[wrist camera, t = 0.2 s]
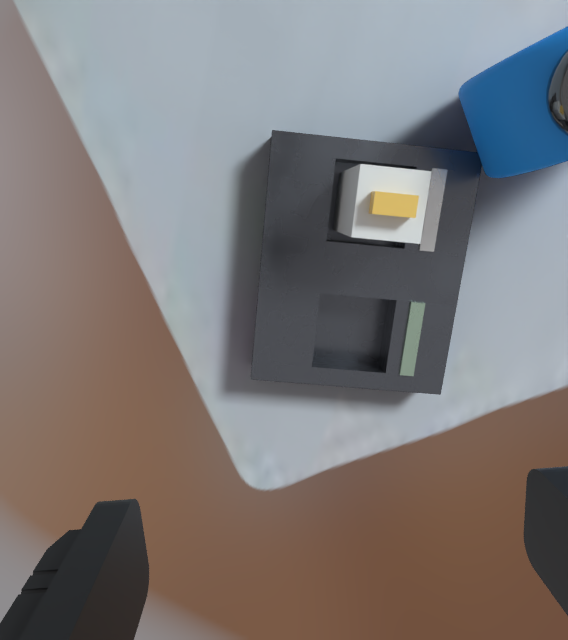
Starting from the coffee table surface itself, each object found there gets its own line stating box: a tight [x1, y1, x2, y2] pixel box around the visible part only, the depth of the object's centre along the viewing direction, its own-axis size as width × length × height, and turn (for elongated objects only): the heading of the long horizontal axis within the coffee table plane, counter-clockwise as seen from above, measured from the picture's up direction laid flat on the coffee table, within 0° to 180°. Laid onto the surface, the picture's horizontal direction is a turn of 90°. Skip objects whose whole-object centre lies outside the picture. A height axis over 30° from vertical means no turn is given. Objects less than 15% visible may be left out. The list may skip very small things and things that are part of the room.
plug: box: [333, 164, 432, 244], centre depth 31 cm, size 4×4×9 cm
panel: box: [251, 130, 482, 394], centre depth 35 cm, size 17×14×3 cm
